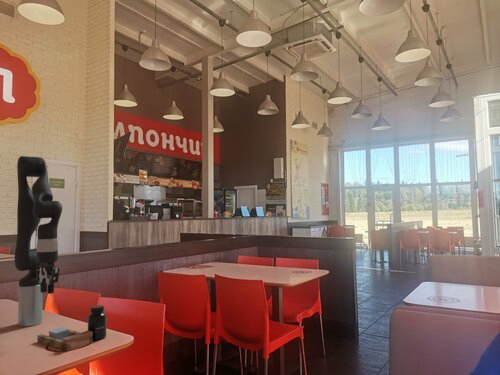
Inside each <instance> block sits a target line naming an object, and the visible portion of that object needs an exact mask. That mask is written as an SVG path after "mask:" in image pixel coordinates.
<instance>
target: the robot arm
mask: <svg viewBox="0 0 500 375" xmlns="http://www.w3.org/2000/svg"><path fill="white" fill-rule="evenodd" d="M16 169H17V170H16V171H17V187H18V188H17V189H18V190H17V191H18V192H17V208H16V209H17V214H16V216H17V218H16V219H17V220H16V221H17V224H16V225H17V227H16V242H15V250H14V251H15V252H14V266H15V268H16V270H17V271H20V272H26V271H28V273H26V275H24V276H23V277H22V278H20V279H19V280H18V306H17V307H18V312H17V314H18V315H17V318H18V319H17V324H18V326H19V327H32V326H37V325H40V324H42V323H43V293H46V292H47V294H48V295H52V294H55V284H56V283H58V282H59V275H60V267H56V265H55V264H56V262H58V260H59V242H58V227H59V226H58V225H59V222H60V219H61V216H62V212H63V205H62V203H61V202H60V201H58V200H54V195H53V193H52V189H51V187H50V182H49V174H48V173H49V172H48V167H47V163H46V159H44V158H43V157H39V156H28V155H27V156H25V155H23V156H22V155H21V156H19V157H18V159H17V165H16ZM28 177H29V178H37V179H36V180H35V181H34V182H33V184H32V186H31V188H30V185H29V182H28ZM42 219H50V221H49V222H46V223H42V224H40V222H41V220H42ZM39 224H40V225H39ZM36 230H37V241H36V248H30V244H31V238H32V236H33V235H34V233H35V231H36Z"/></svg>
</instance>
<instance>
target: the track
mask: <svg viewBox="0 0 500 375" xmlns="http://www.w3.org/2000/svg"><path fill="white" fill-rule="evenodd" d="M93 342H94V341H93V332H92V331H88V330H84V331H82V332H80V331H76V330H72V329H69V337H66V338H63V340H60V339H57V338H53V337H50V336H49V335H46V334H42V333H41V334H40V333H39V334H37V343H38V344H39V343H40V344H43V345H47V346H48V347H49V346H50V347H52V348H56V349H59V350H62V351H65V352H70V351H72V350H76V349H78V348H81V347H84V346H87V345H90V344H92V343H93Z"/></svg>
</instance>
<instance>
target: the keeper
mask: <svg viewBox="0 0 500 375" xmlns="http://www.w3.org/2000/svg"><path fill="white" fill-rule="evenodd" d="M69 330H70V329H69V328H65V327H60V328H56V329H53V330H48V336H50V337H53V338H57V339H60V340H63V338H66V337H69Z"/></svg>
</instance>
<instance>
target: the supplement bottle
mask: <svg viewBox="0 0 500 375" xmlns="http://www.w3.org/2000/svg"><path fill="white" fill-rule="evenodd" d="M107 320H108V319H107V313H106V312H105V306H104V305H99V304H98V305H93V306H91V307H90V314H88V317H87V331H92V332H93V342H94V341H101V340H103V339H105V338H106V336H107Z"/></svg>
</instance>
